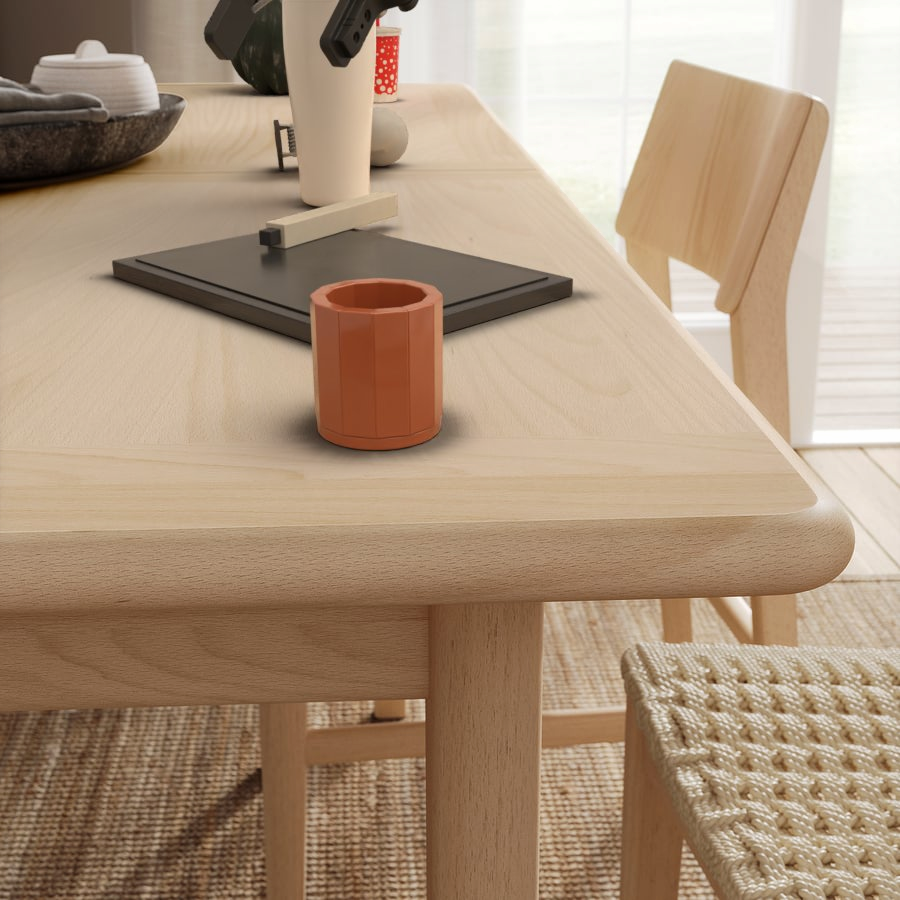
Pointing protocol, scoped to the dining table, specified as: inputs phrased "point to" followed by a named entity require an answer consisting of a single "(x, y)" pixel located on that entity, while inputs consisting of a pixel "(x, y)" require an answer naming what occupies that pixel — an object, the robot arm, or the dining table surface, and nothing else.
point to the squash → (264, 52)
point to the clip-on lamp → (385, 138)
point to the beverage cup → (386, 63)
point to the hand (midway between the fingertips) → (272, 54)
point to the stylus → (328, 220)
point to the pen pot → (377, 362)
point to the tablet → (335, 277)
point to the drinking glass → (328, 106)
